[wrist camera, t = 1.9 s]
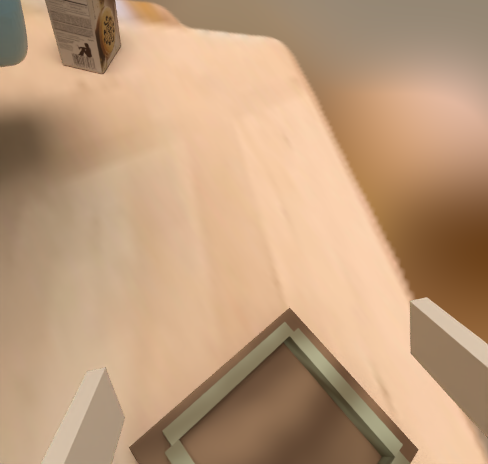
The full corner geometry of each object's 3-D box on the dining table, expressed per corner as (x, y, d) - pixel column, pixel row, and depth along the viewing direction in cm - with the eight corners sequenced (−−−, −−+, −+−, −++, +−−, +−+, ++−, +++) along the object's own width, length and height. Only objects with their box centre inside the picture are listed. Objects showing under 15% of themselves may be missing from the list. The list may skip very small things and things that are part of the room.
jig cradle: (130, 447, 25) (126, 447, 23) (286, 311, 34) (295, 300, 32) (268, 679, 20) (283, 712, 18) (410, 449, 29) (433, 449, 26)
